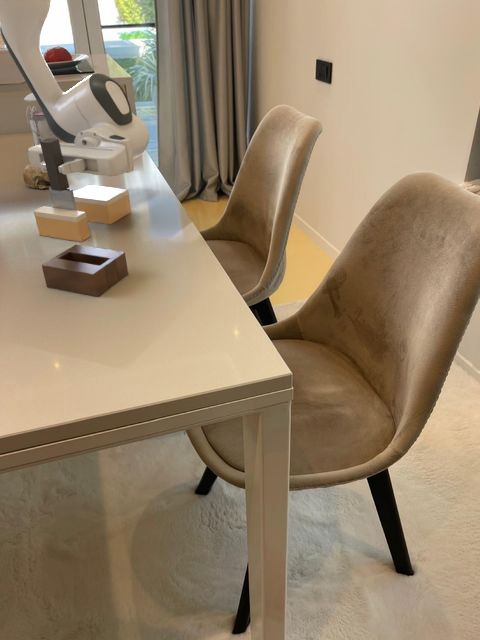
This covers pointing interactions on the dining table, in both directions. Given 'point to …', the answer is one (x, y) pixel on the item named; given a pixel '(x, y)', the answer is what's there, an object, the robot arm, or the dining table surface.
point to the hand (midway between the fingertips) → (52, 169)
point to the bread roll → (36, 177)
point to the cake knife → (57, 175)
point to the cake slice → (62, 223)
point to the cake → (102, 203)
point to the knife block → (85, 270)
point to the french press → (41, 121)
